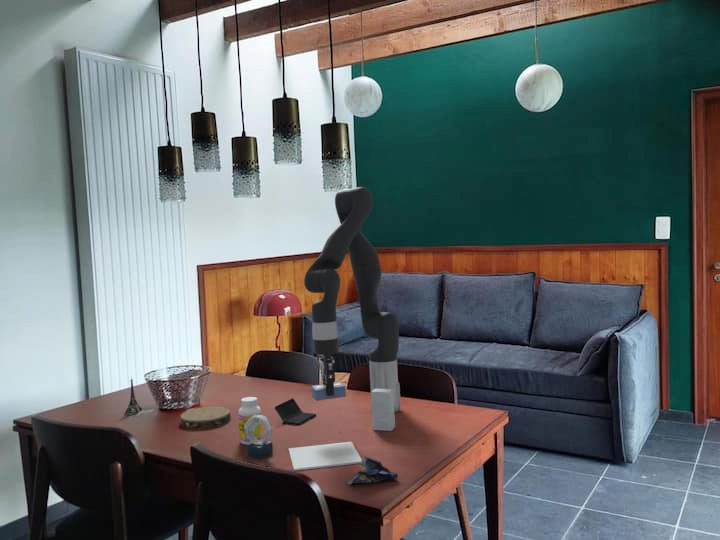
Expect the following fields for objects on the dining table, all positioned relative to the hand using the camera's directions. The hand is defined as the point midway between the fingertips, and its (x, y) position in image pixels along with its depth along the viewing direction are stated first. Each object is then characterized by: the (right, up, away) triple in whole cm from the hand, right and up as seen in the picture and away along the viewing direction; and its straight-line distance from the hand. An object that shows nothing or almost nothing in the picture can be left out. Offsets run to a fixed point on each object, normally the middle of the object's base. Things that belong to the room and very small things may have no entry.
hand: (328, 392), depth 190 cm
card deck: (0, -1, 0) cm, 1 cm away
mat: (0, -14, -16) cm, 21 cm away
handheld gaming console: (-12, -13, +20) cm, 26 cm away
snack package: (+12, -15, -33) cm, 38 cm away
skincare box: (+17, -12, +6) cm, 22 cm away
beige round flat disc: (-42, -14, +22) cm, 49 cm away
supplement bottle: (-23, -15, -1) cm, 27 cm away
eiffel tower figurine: (-71, -15, +36) cm, 81 cm away
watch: (-18, -15, -12) cm, 27 cm away
